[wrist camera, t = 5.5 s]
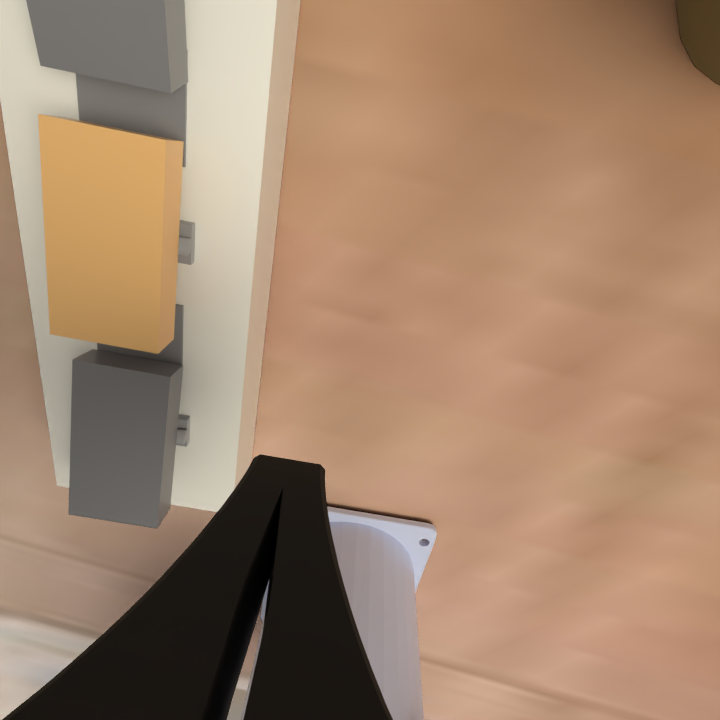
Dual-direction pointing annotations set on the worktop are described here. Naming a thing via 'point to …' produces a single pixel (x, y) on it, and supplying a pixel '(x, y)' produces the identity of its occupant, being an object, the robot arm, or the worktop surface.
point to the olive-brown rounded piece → (701, 34)
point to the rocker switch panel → (197, 218)
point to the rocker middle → (110, 232)
